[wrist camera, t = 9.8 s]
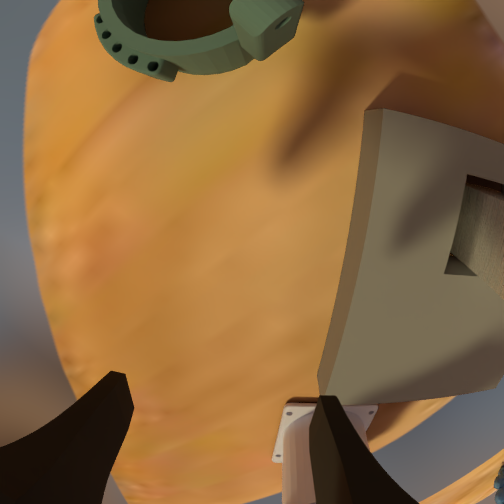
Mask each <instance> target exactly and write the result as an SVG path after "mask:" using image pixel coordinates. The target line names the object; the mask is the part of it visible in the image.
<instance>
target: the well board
mask: <svg viewBox="0 0 504 504" xmlns="http://www.w3.org/2000/svg"><path fill="white" fill-rule="evenodd" d="M467 174H469V175H473V176H477V177H480V178H484V179H487V180H491V181H494V182H498V183H501V184H502V189H501V192H502V193H504V144H502V143H500V142H497V141H494V140H492V139H489V138H486V137H484V136H481V135H478V134H475V133H472V132H469V131H466V130H463V129H460V128H457V127H454V126H450V125H447V124H444V123H440V122H437V121H433V120H430V119H426V118H422V117H419V116H415V115H411V114H407V113H403V112H398V111H394V110H390V109H385V108H381V109H373V110H366V111H365V113H364V124H363V134H362V143H361V152H360V160H359V168H358V176H357V183H356V191H355V197H354V204H353V210H352V217H351V223H350V229H349V235H348V240H347V246H346V251H345V257H344V262H343V267H342V272H341V277H340V282H339V287H338V291H337V296H336V301H335V305H334V310H333V314H332V318H331V323H330V327H329V331H328V335H327V339H326V343H325V347H324V351H323V355H322V359H321V362H320V366H319V370H318V374H317V378H318V385H319V392H320V395H336V396H337V397H338V399H339V401H340V403H341V405H359V404H380V403H394V402H406V401H417V400H426V399H434V398H442V397H449V396H456V395H462V394H468V393H474V392H479V391H484V390H489V389H494V388H496V386H497V385H498V383H499V382H500V380H501V378H502V377H503V375H504V300H503V299H502V298H501V297H500V296H499V295H498V294H497V293H496V292H495V291H494V290H493V289H492V288H491V287H490V286H489V285H487V284H486V283H485V282H484V281H483V280H482V279H481V278H480V277H479V276H477V275H476V274H475V273H474V272H473V271H472V270H471V269H470V268H468V267H467V266H466V265H465V264H464V263H463V262H461V261H460V260H459V259H458V258H457V257H454V256H449V254H450V250H451V247H452V243H453V239H454V235H455V231H456V227H457V222H458V218H459V214H460V209H461V204H462V199H463V194H464V188H465V183H466V177H467Z"/></svg>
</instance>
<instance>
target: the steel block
mask: <svg viewBox="0 0 504 504" xmlns="http://www.w3.org/2000/svg"><path fill="white" fill-rule="evenodd" d="M450 252H451V253H452V254H453V255H454V256H455V257H457V258H458V259H459V260H460V261H461V262H463V263H464V264H465V265H466V266H467V267H468V268H470V269H471V270H472V271H473V272H474V273H475V274H476V275H477V276H479V277H480V278H481V279H482V280H483V281H484V282H485V283H486V284H487V285H489V286H490V287H491V288H492V289H493V290H494V291H495V292H496V293H497V294H498V295H499V296H500V297H501V298H502V299H503V300H504V193H502V192H499V191H497V190H494V189H491V188H487V187H483V186H479V185H475V184H470V183H465V188H464V194H463V199H462V204H461V209H460V214H459V218H458V222H457V227H456V231H455V235H454V239H453V243H452V247H451V250H450Z"/></svg>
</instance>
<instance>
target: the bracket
mask: <svg viewBox="0 0 504 504" xmlns="http://www.w3.org/2000/svg"><path fill="white" fill-rule="evenodd" d="M148 1H149V0H98V8H99V11H100V13H99V14H96V15H95V17H94V23H95V28H96V32H97V35H98V38H99V40H100V42H101V43H102V45H103V47H104V48H105V50H106V51H107V52H108V53H109V54H110V55H111V56H112V57H113V58H114V59H115V60H116V61H118V62H119V63H121V64H122V65H124V66H126V67H128V68H130V69H133V70H135V71H137V72H140V73H143V74H146V75H148V76H151V77H154V78H156V79H160V80H164V81H168V82H172V81H174V80H175V77H176V75H177V72H178V71H179V72H183V73H188V74H194V75H211V74H220V73H224V72H228V71H232V70H235V69H237V68H240V67H242V66H245V65H247V64H248V63H249V62H250V61H252V60H253V59H254V58H255V59H256V60H258V61H263V60H265V59H266V58H267V57H269V56H270V55H271V54H273V53H274V52H275V51H277V50H278V49H279V48H280V47H282V46H283V45H284V44H286V43H287V42H289V41H290V40H291V39H293V38H294V36H295V33H296V30H297V26H298V23H299V19H300V16H301V12H302V9H303V5H304V2H303V1H302V0H233V1H232V2H231V4H230V6H229V14H230V17H231V19H232V22H233V26H231V27H229V28H227V29H225V30H222V31H220V32H217V33H215V34H213V35H209V36H205V37H201V38H198V39H192V40H184V41H161V40H156V39H151V38H148V37H147V34H146V31H145V24H144V18H145V10H146V7H147V3H148Z"/></svg>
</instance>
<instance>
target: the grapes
mask: <svg viewBox="0 0 504 504" xmlns="http://www.w3.org/2000/svg"><path fill="white" fill-rule="evenodd" d="M494 488H496V489H499V490H498V491H497V493H496V495H495V501H496V503H497V504H504V466H503V467H501V469H500V470H499V473H498V476H497V477H496V479H495V481H494Z"/></svg>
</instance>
